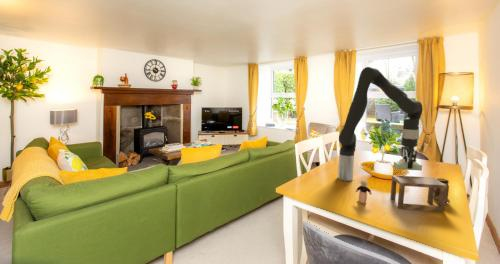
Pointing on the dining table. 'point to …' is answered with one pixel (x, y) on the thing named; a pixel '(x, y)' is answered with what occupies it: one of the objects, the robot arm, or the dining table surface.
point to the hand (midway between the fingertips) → (407, 166)
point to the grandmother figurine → (363, 192)
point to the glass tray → (406, 165)
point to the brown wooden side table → (419, 182)
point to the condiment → (437, 191)
